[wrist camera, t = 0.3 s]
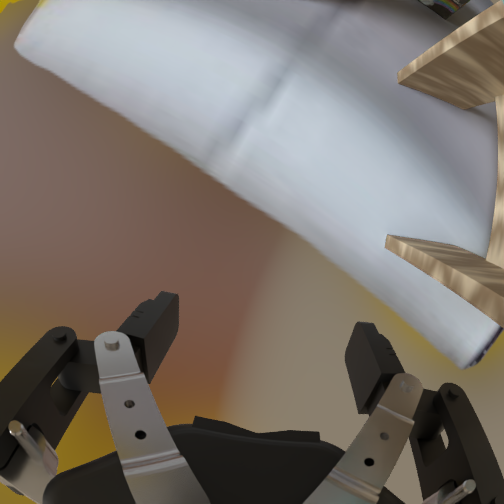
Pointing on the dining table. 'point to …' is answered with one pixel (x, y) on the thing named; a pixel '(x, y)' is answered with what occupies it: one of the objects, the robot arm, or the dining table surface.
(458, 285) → the wooden stand
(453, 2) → the chalk box
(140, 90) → the dining table surface
